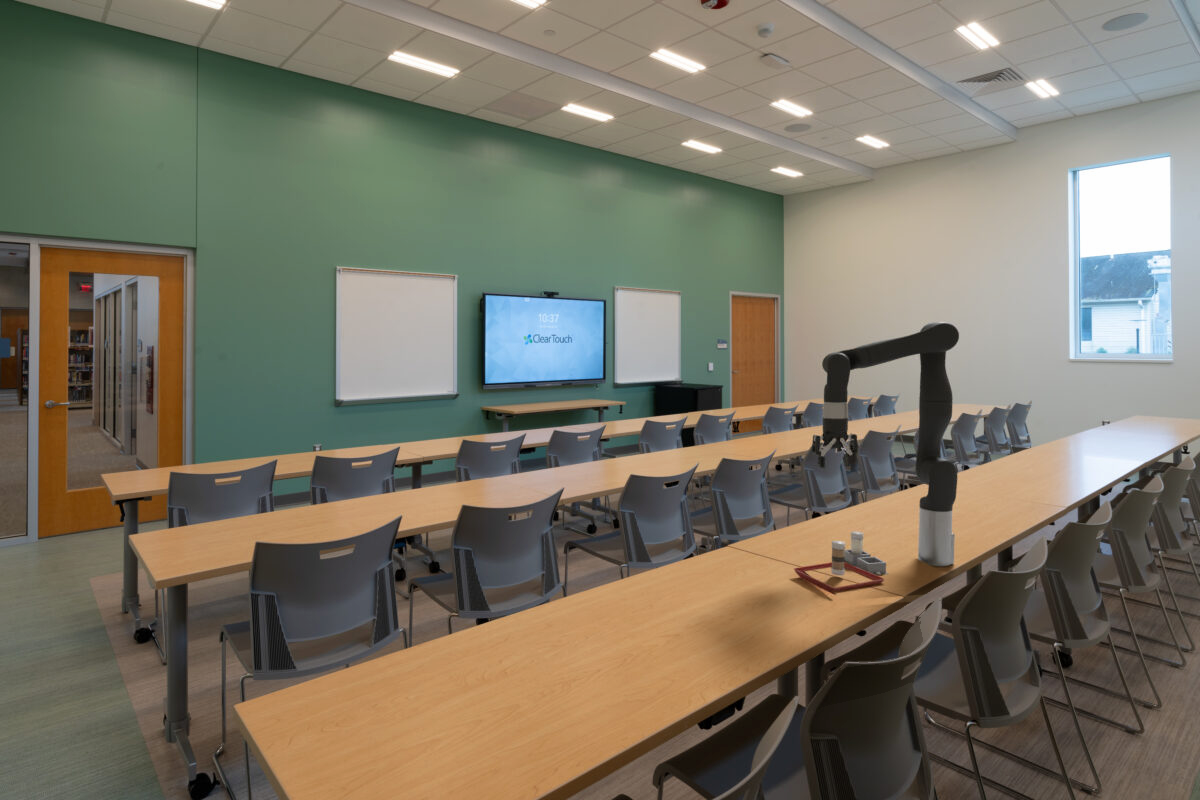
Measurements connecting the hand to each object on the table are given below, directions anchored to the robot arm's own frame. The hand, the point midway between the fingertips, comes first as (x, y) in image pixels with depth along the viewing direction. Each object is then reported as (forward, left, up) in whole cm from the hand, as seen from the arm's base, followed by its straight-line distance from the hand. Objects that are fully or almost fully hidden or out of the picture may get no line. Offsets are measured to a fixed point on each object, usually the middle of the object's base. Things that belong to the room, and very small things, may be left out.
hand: (834, 467), depth 207 cm
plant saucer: (+9, +19, -31) cm, 37 cm away
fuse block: (-4, +11, -30) cm, 32 cm away
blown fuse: (+9, +19, -27) cm, 34 cm away
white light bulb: (-4, +7, -29) cm, 30 cm away
